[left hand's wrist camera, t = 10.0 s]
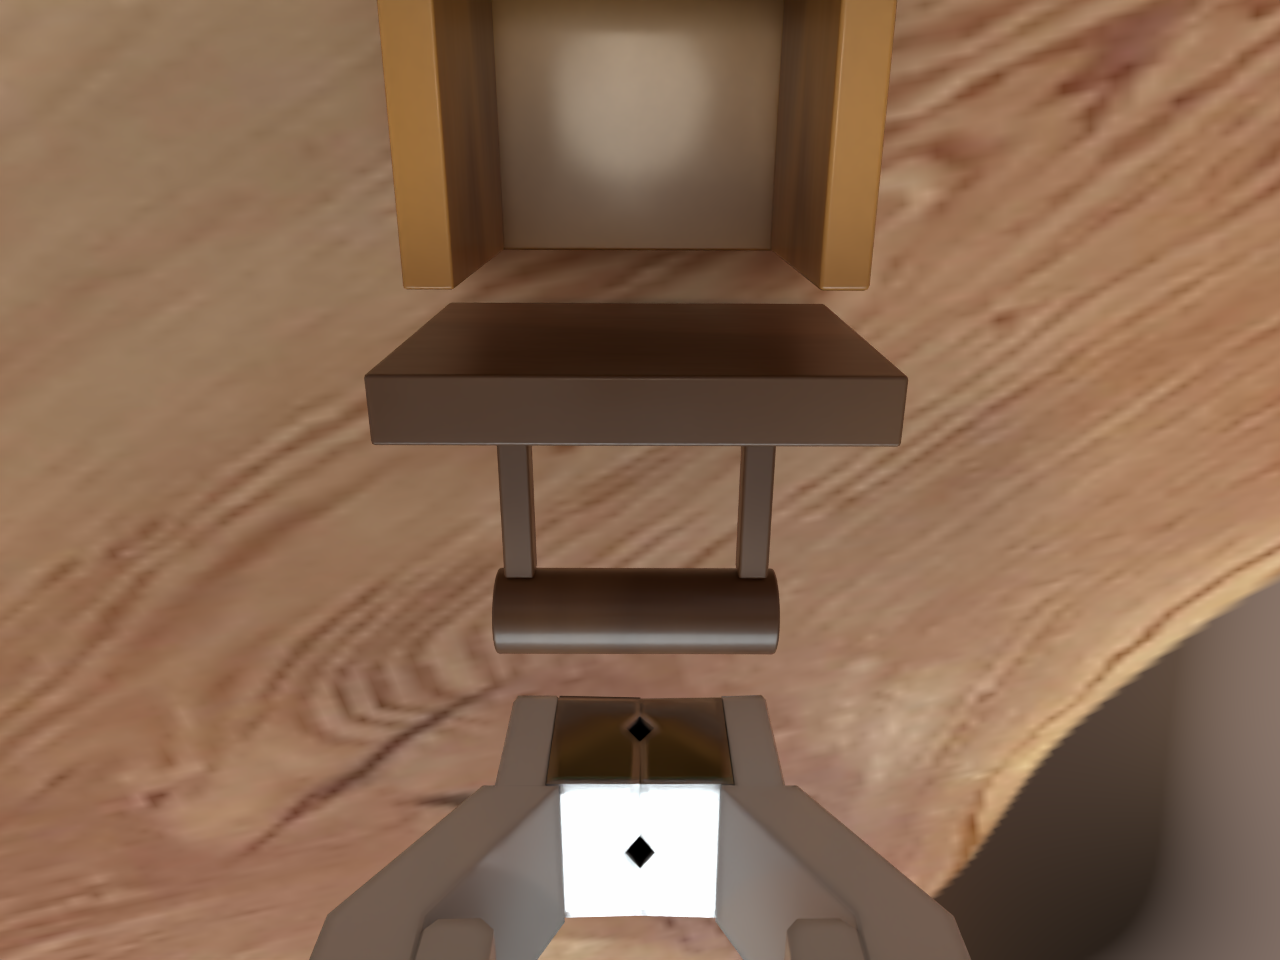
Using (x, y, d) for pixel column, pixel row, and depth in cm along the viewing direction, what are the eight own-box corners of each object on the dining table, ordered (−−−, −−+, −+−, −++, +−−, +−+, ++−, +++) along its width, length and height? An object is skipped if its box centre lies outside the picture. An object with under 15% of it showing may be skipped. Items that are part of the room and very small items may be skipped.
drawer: (804, 555, 23) (870, 716, 16) (467, 554, 23) (401, 715, 16) (890, -535, 15) (1075, -1027, 9) (386, -538, 15) (203, -1034, 9)
